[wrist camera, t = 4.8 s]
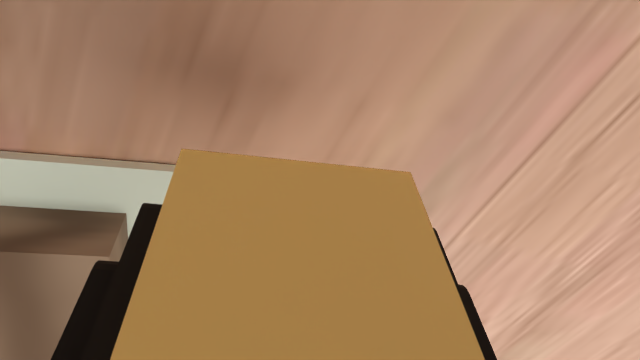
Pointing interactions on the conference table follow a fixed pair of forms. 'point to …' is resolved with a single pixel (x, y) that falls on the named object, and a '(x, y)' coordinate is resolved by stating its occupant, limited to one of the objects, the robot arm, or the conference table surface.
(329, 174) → the mustard brick
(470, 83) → the conference table surface
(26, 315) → the walnut base brick
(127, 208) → the plate
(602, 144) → the conference table surface
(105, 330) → the robot arm
